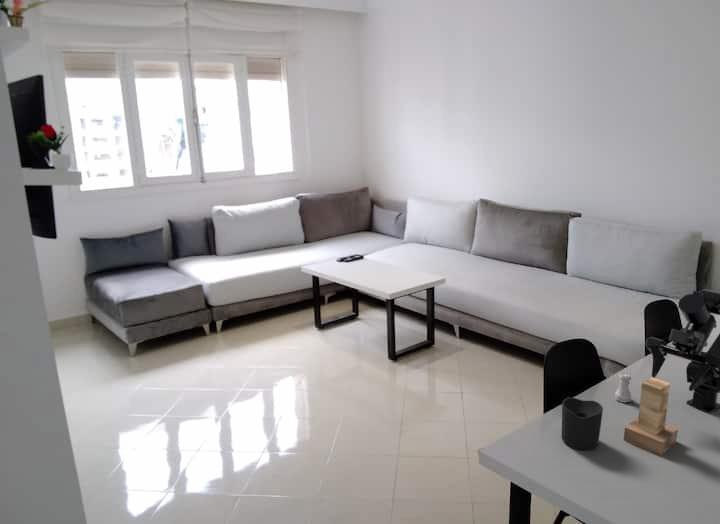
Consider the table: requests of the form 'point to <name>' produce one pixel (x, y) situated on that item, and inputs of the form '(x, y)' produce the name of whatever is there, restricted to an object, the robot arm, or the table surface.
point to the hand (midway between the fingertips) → (670, 383)
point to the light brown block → (650, 438)
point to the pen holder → (581, 423)
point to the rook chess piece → (623, 388)
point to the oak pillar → (653, 405)
